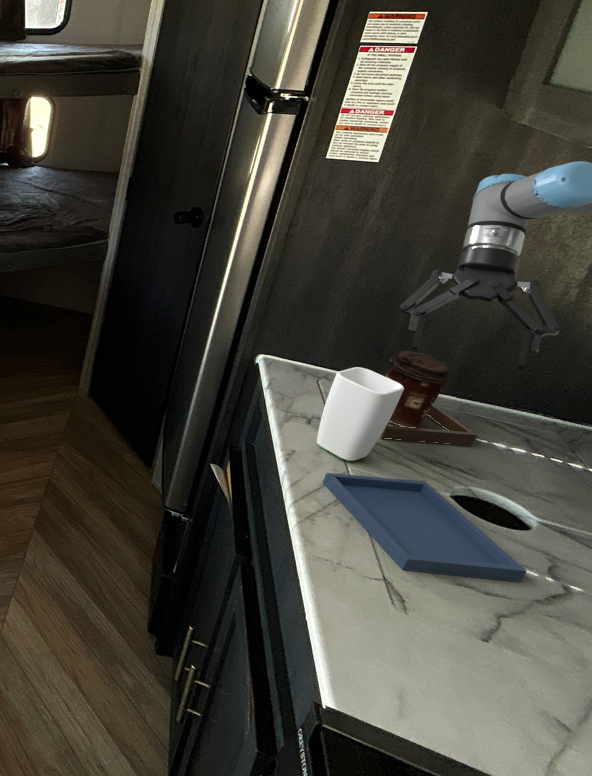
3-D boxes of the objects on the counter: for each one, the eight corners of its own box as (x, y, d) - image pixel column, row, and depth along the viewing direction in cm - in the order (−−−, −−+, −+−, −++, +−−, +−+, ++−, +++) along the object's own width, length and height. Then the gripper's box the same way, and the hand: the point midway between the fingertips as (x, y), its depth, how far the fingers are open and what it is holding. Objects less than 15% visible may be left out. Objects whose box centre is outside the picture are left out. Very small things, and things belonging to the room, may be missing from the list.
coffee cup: (363, 417, 121) (387, 358, 116) (370, 400, 126) (394, 343, 121) (424, 438, 115) (453, 378, 110) (429, 419, 120) (457, 361, 115)
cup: (331, 434, 116) (359, 365, 110) (377, 459, 109) (409, 387, 104) (304, 443, 113) (332, 372, 108) (349, 468, 107) (381, 395, 101)
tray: (520, 582, 86) (527, 571, 85) (402, 570, 88) (407, 558, 87) (420, 491, 102) (425, 481, 101) (322, 482, 104) (326, 472, 103)
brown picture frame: (471, 446, 113) (477, 435, 112) (381, 439, 115) (386, 428, 114) (409, 399, 126) (414, 389, 125) (329, 393, 128) (333, 383, 127)
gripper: (399, 238, 126) (374, 336, 123) (599, 255, 107) (574, 371, 104) (400, 252, 131) (376, 347, 128) (591, 271, 112) (568, 382, 109)
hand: (465, 358), depth 116 cm, fingers open, 13 cm apart
